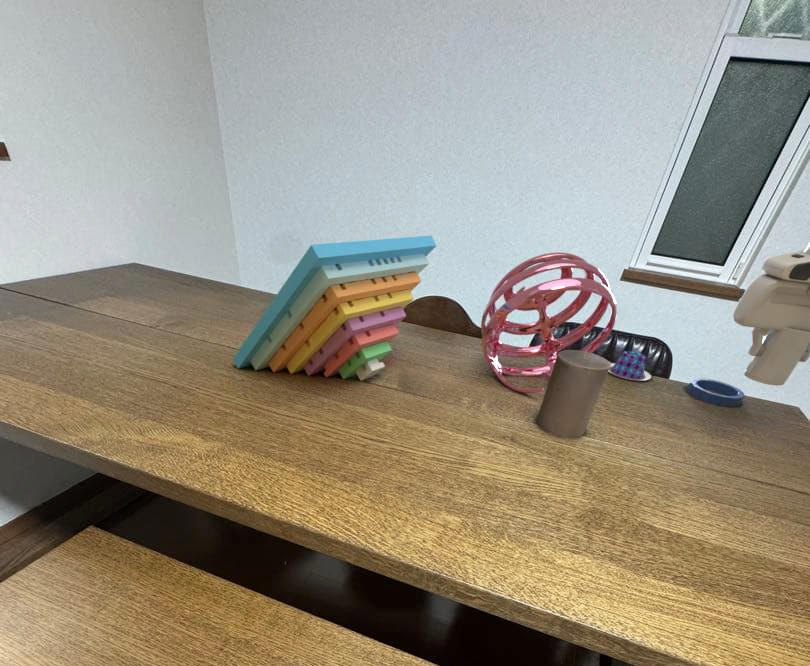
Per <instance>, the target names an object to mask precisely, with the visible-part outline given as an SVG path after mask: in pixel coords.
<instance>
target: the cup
mask: <svg viewBox="0 0 810 666" xmlns="http://www.w3.org/2000/svg"><path fill="white" fill-rule="evenodd" d="M762 345H764V346H765V347H766V349H765V351H763V354H762V355H761V356H752V358H751V360H750V362H749V363H748V365H747V367H746V369H745V371H744V372H743V375H744V376H745V377H746V378H747V379H750V380H752V381H755V382H757V383H760V384H764V385H767V386H768V385H770V386H778V387H779V386H783V385H785V383H786V382H787V381H788V380H789V377H790V376H791V375H792V373H793V372H794V370H795V368H796V367H797V365H798V364H799V363H800V361H799V360H800V359H801V357H802V356H803V354H804V353H805V351H806V350H807V348H808V347H809V345H810V332H807V331H800V330H795V329H791V328H784V329H783V330H781V331H780V330H771V329H770V331H769V332H768V334H767V335H766V336H763V340H762Z"/></svg>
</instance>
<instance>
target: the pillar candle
mask: <svg viewBox="0 0 810 666" xmlns="http://www.w3.org/2000/svg"><path fill="white" fill-rule="evenodd" d="M611 363H612V362H611V361H609V360H607V359H606V358H604V357H602V356H600V355H598V354H595V353H588V352H587V351H585V352H584V351H580V350H576V349H565V350H560V351H559V352H558V353H557V358H556V361H555V364H554V367H553V370H552V374H551V377H549V380H548V383H547V386H546V389H545V392H544V396H543V399H542V401H541V404H540V408H539V410H538V415H537V417H536V419H535V423H536V425H537V426H538V427H539V428H540V429H541V430H542V431H544V432H546V433H548V434H551V435H554V436H557V437H560V438H569V439H570V438H571V439H572V438H579V437H581V436H583V435H584V434H585V432H586V429H587V427H588V424H589V422H590V419H591V417H592V414H593V412H594V410H595V407H596V403H597V401H598V399H599V396H600V394H601V392H602V389H603V386H604V384H605V381H606V378H607V377H608V374H609V372H608V371H610V369H611V367H610V366H611Z"/></svg>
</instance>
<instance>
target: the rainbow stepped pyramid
mask: <svg viewBox="0 0 810 666" xmlns="http://www.w3.org/2000/svg"><path fill="white" fill-rule="evenodd" d="M436 247H437V243H436V241H435V239H434V237H433V235H420V236H409V237H408V236H407V237H406V236H405V237H395V238H394V237H393V238H383V239H382V238H380V239H369V240H355V241H354V240H353V241H344V242H329V243H317V244H316V243H315V244H311V245H310V246H309V247H308V249H307V250H306V251H305V253H304V255H303V256H302V258H301V259H300V260H299V262H298V263H297V264H296V266H295V268H294V269H293V270H292V272H291V274H290V275H289V276H288V278H287V279H286V281H285V282H284V284H283V285H282V286H281V288H280V289H279V290H278V292H277V293H276V295H275V296H274V298H273V299H272V301H271V303H270V304H269V305H268V307H267V308H266V309H265V311H264V312H263V314H262V316H261V317H260V318H259V320H258V322H257V323H255V325H254V327H253V328H252V330H251V331H250V333H249V334H248V336H247V337H246V339H245V340H244V341H243V342H242V345H241V346H240V348H239V349H238V350H237V352H236V353H235V355H234V356H233V357H232V361H233V363H234V365H235V366H236V368H237V369H242V368H245V367H249V366H252V367H253V368H254V370H255V371H259V370H262V369H265V368H270V369H271V371H272V372H273V373H275V372H279V371H282V370H285V369H287V370H288V372H289V373H290V375H292V374H295V373H298V372H301V371H305V372H306V374H307V376H312V375H315V374H318V373H322V372H323V375H324V377H325V378H329V377H332V376H335V375H338V374H340V377H341V378H342V379H343V380H345V379H348V378H350V377H351V378H352V377H353V376H356V375H357V377H358V379H359V380H360V382H362V381H364V380H367V379H370V378H373V377H374V376H375V375H377V374H378V373H379V372H380V371H381V370H382V369H384V368H385V367H386V366H385V363H384V362H383V361H381V360H383V358H384V357H385V356H387V355H388V354H389V353H391V352H392V350H393V349H392V346H391V345H390V342H391V341H392V340H393V339H395V337H397V336H398V335H399V334H400V332H399V329H398V328H397V325H398V324H400V322H402V321H403V320H404V319H405V318H406V317H407V314H406V312H405V310H404V309H405V308H406V307H407V306H408V305H409V304H410V303H412V301H413V300H414V299H415V298H414V295H413V294H412V291H413V290H414V289H415V288H416V287H418V285H419V284H420V283H421V282H422V278H421V277H420V275H419V274H420V273H421V272H422V271H423V270H424V269H425V268H426V267H427V266H428V265H429V264H430V262H429V261H428V258H427V256H428V255H429V254H430V253H431V252H433V250H434V249H435V248H436Z"/></svg>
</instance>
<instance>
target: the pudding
mask: <svg viewBox="0 0 810 666" xmlns="http://www.w3.org/2000/svg"><path fill="white" fill-rule="evenodd" d="M646 362H647V357H646V356H645V355H644V354H643V353H640V352H638V351H632V350H628V351H627V350H625V351H623V352H622V353H621V355H619V358H618V359H617V360H616V362H610V363H611V366H610V368H611V371H610V370H609V371H608V373H610V374H612V375H613V376H616V377H619V378H623V379H626V380H631V381H634V379H635V380H638V381H639V382H640V381H648V380H651V379H652V375H651V374H650V372H648V371H646V370H645V368H646ZM644 376H645V377H644ZM643 377H644V378H643ZM641 378H643V379H641Z"/></svg>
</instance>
